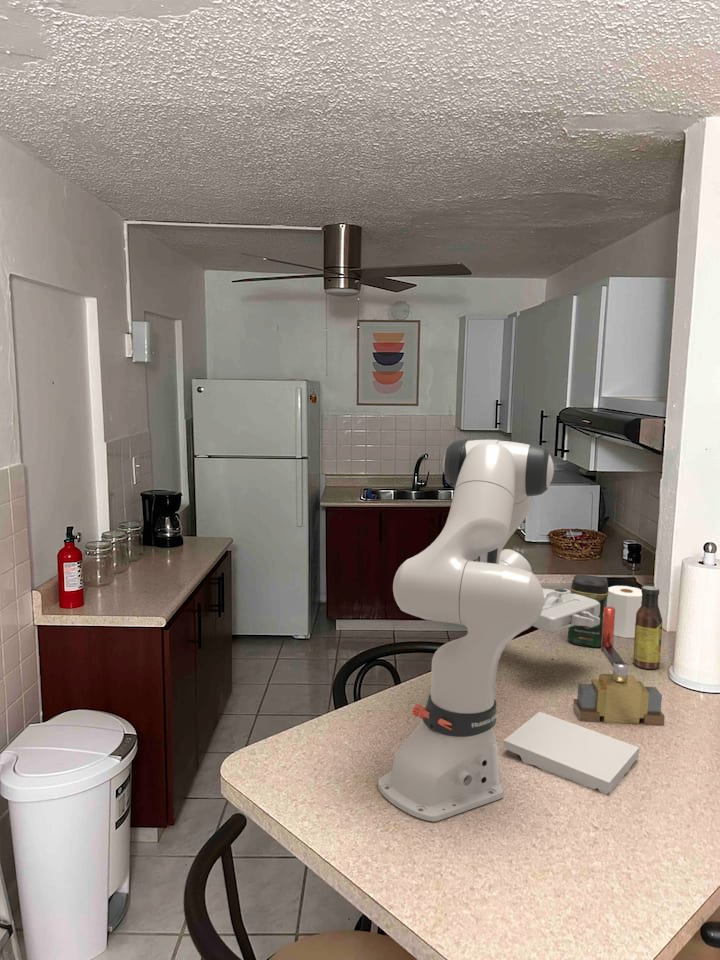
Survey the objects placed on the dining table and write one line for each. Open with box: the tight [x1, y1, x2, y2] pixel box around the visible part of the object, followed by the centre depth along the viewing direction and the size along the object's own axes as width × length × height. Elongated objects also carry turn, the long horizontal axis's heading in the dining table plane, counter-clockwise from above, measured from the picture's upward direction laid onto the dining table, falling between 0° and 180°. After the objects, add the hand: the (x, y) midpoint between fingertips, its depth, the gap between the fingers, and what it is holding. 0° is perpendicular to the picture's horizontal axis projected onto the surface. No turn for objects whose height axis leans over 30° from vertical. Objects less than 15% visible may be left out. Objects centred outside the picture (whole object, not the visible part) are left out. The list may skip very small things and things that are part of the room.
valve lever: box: [600, 606, 630, 682], centre depth 152 cm, size 14×3×12 cm, turn 175°
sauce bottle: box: [632, 585, 663, 670], centre depth 175 cm, size 6×6×20 cm
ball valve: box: [572, 673, 666, 726], centre depth 148 cm, size 6×17×8 cm, turn 85°
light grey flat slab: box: [503, 711, 640, 795], centre depth 132 cm, size 15×3×20 cm
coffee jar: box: [567, 573, 609, 648], centre depth 190 cm, size 10×8×19 cm
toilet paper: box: [606, 585, 642, 639], centre depth 199 cm, size 10×10×12 cm
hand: (596, 622), depth 160 cm, fingers closed
